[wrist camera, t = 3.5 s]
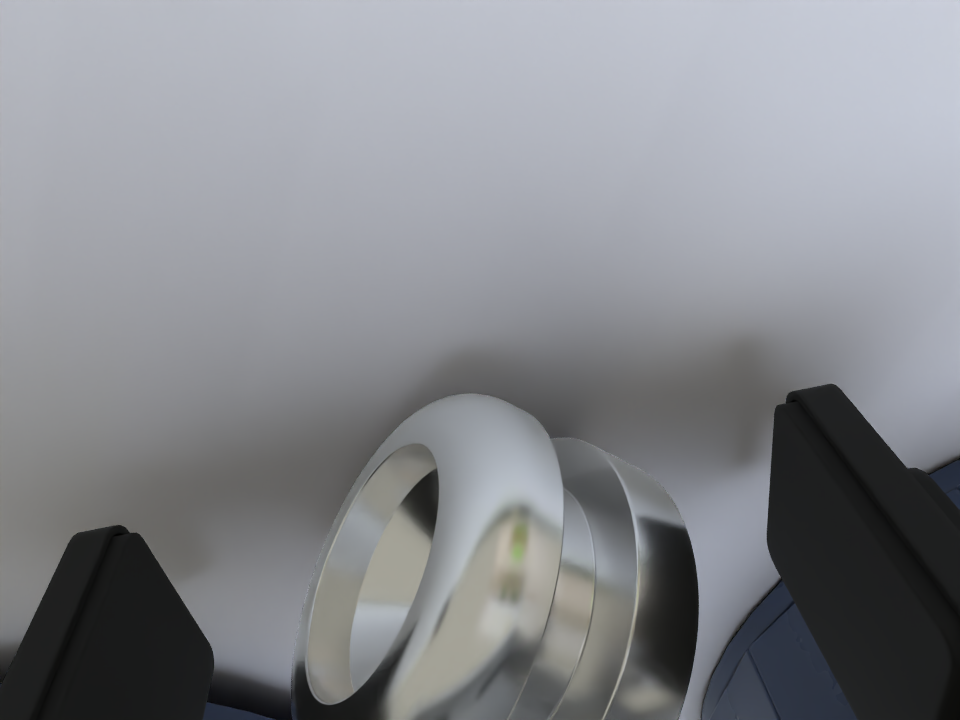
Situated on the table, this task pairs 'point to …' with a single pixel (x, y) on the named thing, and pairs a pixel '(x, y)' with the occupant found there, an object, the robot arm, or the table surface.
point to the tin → (785, 659)
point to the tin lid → (228, 713)
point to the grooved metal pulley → (497, 581)
